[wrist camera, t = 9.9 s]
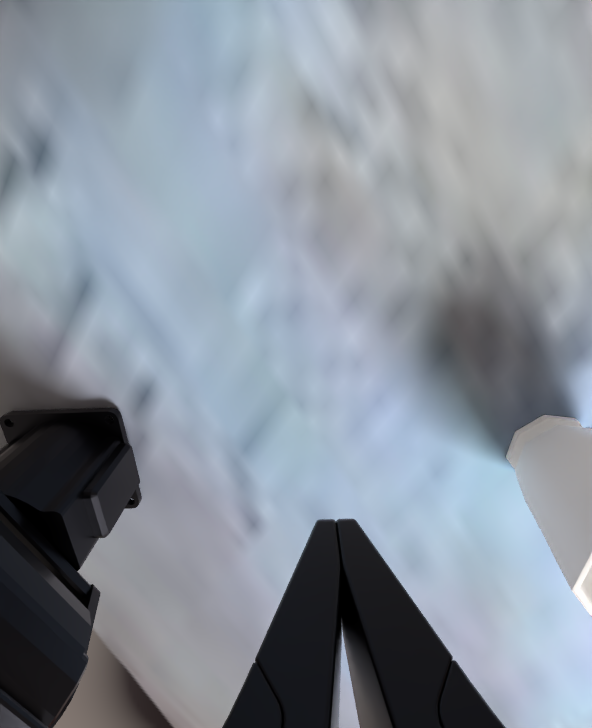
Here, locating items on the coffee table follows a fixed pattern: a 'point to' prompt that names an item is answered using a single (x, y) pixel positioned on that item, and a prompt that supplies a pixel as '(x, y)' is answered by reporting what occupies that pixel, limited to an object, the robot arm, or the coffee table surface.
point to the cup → (559, 492)
